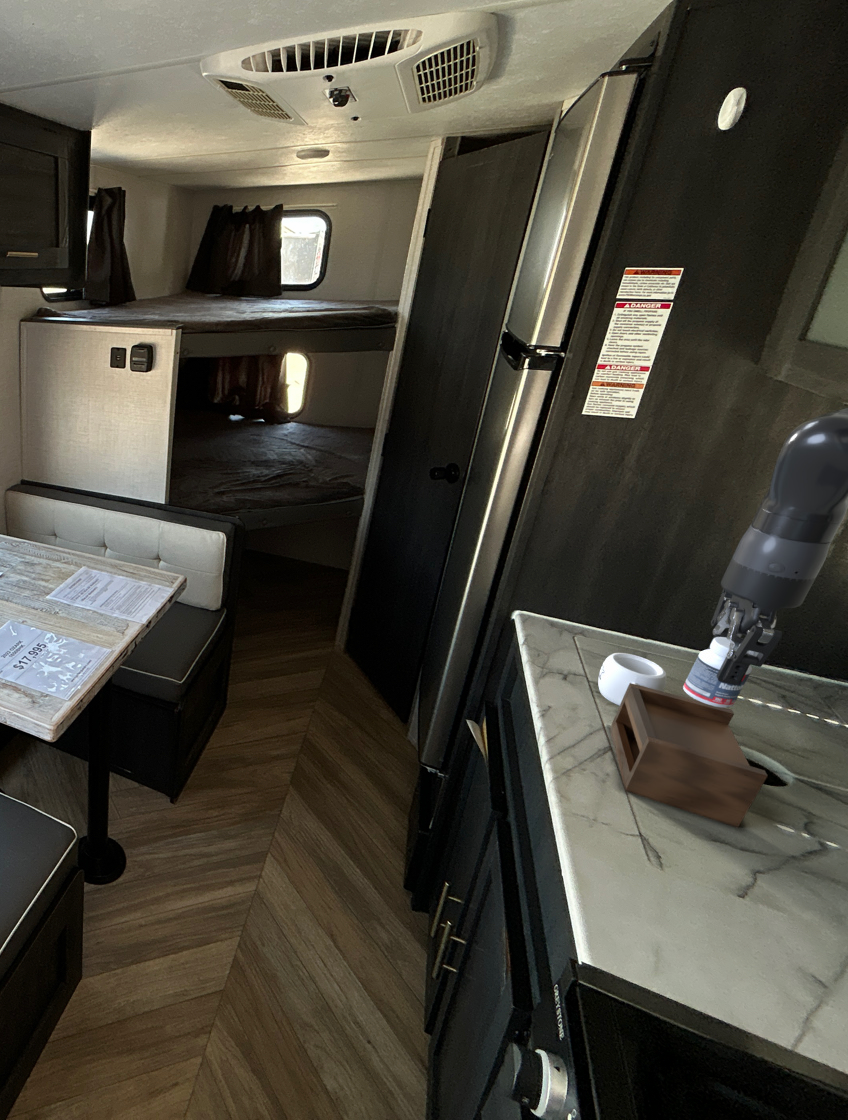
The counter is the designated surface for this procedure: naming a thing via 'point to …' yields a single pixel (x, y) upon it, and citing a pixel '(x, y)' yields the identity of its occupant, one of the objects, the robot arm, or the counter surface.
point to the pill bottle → (713, 677)
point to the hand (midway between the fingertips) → (720, 670)
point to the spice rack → (683, 755)
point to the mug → (628, 675)
